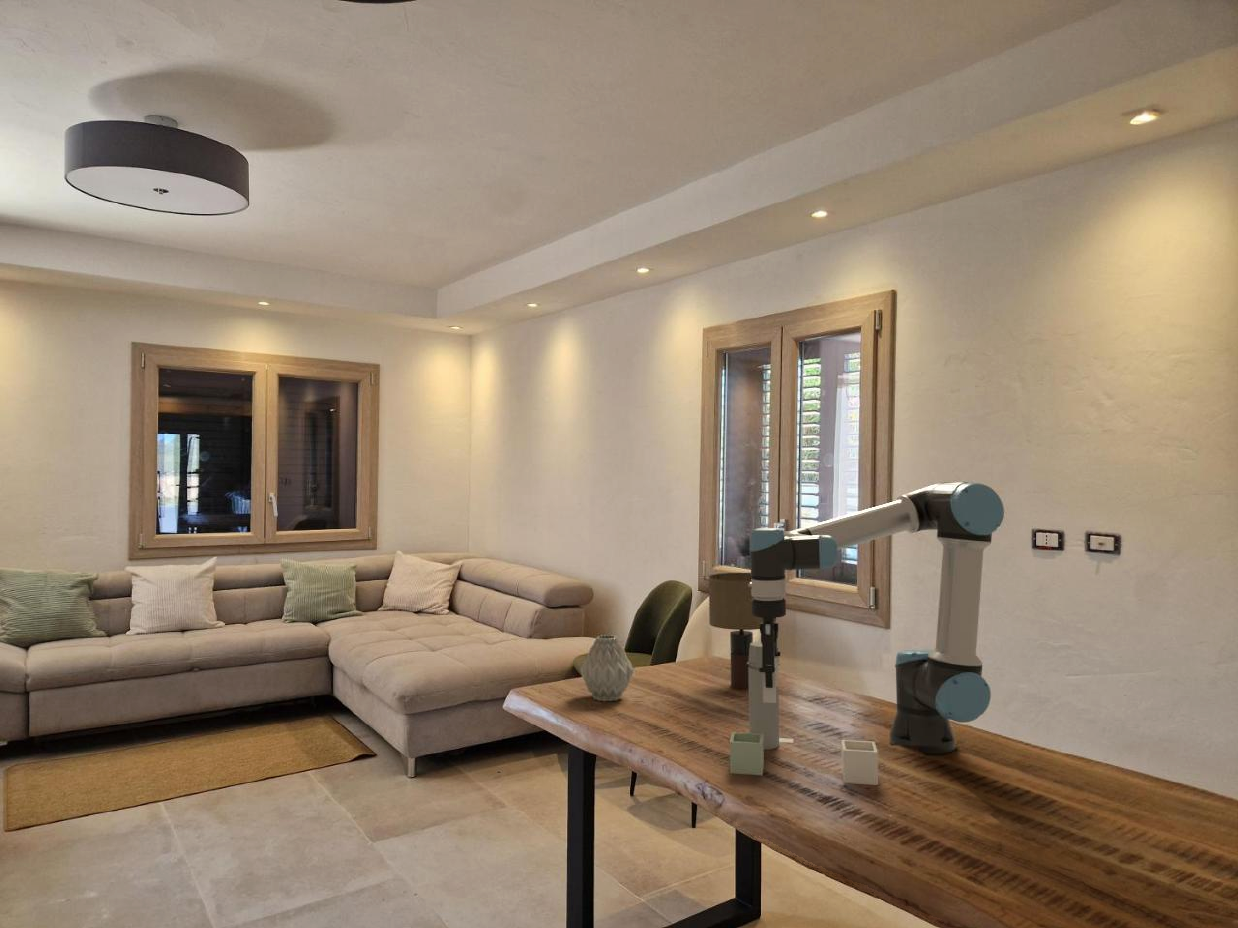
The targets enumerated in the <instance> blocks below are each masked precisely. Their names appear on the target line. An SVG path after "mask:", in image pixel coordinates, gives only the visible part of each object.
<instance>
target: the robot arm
mask: <svg viewBox="0 0 1238 928" xmlns="http://www.w3.org/2000/svg"><path fill="white" fill-rule="evenodd" d="M896 498H897V499H896V500H895V501H892V502H888V503H885V504H882V505H878V506H875V507H871V508H867V509H864V510H861V511H856V512H854V513H850V514H846V515H843V516H838V517H835V518H832V519H829V520H826V521H822V522H818V523H815V524H811V525H808V526H805V527H802V528H801V527H799V528H798V529H797V528H796V529H794V530H783V529H782V528H780V527H776V528H775V527H762V528H761V527H760V528H759V527H758V528H754V529H752V530H751V531H750V534H749V560H750V562H749V563H750V573H751V582H752V583H749V584H748V586H749V587H752V589H751V595H752V596H753V597H754V598H753V599H752V600H751V604H752V615H753V616H756V617H762V618H763V623H760V629H759V633H760V642H761V643H762V668H759V672H762V674H763V702H767V703H776V686H778V687H779V665H778V658H779V657H781V651H779V649H778V637H779V622H777V618H783V617H785V616H786V614H787V603H786V602H787V601H786V599H785V597H786V591H787V590H786V589H787V588H786V574H785V573H786V571H792V570H793V571H795V570H796V571H799V570H801V571H802V570H823V569H831V568H834V567H835V565H836V564H837V562H838V558H839V557H838V556H839V550H843V549H847V548H850V547H853V546H856V545H861V544H865V543H868V542H871V541H874V540H877V539H882V538H886V537H888V536H892V535H895V534H899V533H902V532H906V531H907V532H909V533H910V534H913V533H917V532H921V531H926V530H927V531H930V530H931V531H932V530H934V531H937V532H936V539H937V540H938V541H939V542H940V544H942V556H941V557H942V558H941V559H942V560H941V571H940V572H941V573H940V583H939V584H940V588H939V599H938V600H939V601H938V611H937V613H938V614H937V622H936V623H937V625H936V626H937V627H936V640H935V648H934V649H906V650H900V651H898V653H896V657H895V665H894V666H895V678H896V679H895V684H896V686H895V687H896V688H895V689H896V690H895V691H896V712H895V715H894V718H893V721H892V725H891V727H890V730H889V743H890V744H891V745H892V746H895V747H896V746H902V747H905V748H910V749H915V750H918V751H919V752H920V753H921V754H924V755H941V754H942V755H943V754H949V753H951V752H953V751H955V750H956V737H955V734H954V731H953V729H952V728H953V727H952V725H951V722H950V720H951V721H954V722H957V723H962V724H963V723H970V722H973V721H976V720H977V719H979V717H980V716H982V715H983V714H985V712H986V711H987V709H988V708H989V706H990V702H991V698H992V697H991V696H992V694H991V693H992V692H991V687H990V686H989V684H988V683H987V681H986V679H985V678H984V677H982V673H983V661H982V660H981V659H980V658H979V657H978V655H977V645H978V644H977V643H978V642H977V641H978V627H979V618H980V617H979V615H980V602H981V601H980V600H981V591H982V590H981V585H982V575H983V563H984V562H983V560H984V550H985V549H986V548H987V547H988V546H989V545H991V544H992V540H993V539H992V535H993V533H994V532H996V531H997V529H998V527H1000V526H1001V525H1002V522H1003V520H1004V517H1005V509H1004V504H1003V501H1002V499H1001V497H1000V496H999V494H998V493H997V492H996V491H995V490H994V489H993V488H992V487H990V486H988V485H987V484H983V483H978V482H974V481H970V482H969V481H964V482H962V481H961V482H945V481H944V482H938V483H935V484H931V485H928V486H925V487H923V488H919V489H917V490H914V491H911V492H907V493H905V494H901V495H899V496H898V497H896ZM777 650H778V652H777ZM775 656H778V657H775Z"/></svg>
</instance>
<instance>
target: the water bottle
mask: <svg viewBox="0 0 1238 928" xmlns="http://www.w3.org/2000/svg"><path fill="white" fill-rule="evenodd" d="M777 652H779V649H778V650H777ZM775 657H778V666H781V665H780V660H779V656H775ZM747 664H749V665H750V666H749V667H748V671H749V689H748V723H749V724H748V731H749V732H748V733H756V734H763V738H764V750H765V751H767V750H775V749H777V748H778V747H779V746H780V742H779V738H780V714H779V713H780V711H779V709H780V707H779V706H780V705H779V703H780V702H779V699H780V698H779V685H778V686H776V703H767V702H763V674H762V672H759V668H762V643H761V641H755V642H754V641H753V642H752V643H750V649H749V662H747Z"/></svg>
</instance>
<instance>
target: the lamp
mask: <svg viewBox="0 0 1238 928" xmlns="http://www.w3.org/2000/svg"><path fill="white" fill-rule="evenodd" d="M749 583H752V582H751V572H721V573H712V574H709V575H708V588H709V589H708V606H709V607H708V609H709V611H708V612H709V613H708V614H709V618H708V619H709V625H710V626H712V627H713V628H717V629H718V628H719V629H725V630H733V631H730V635H729V637H730V639H729V641H730V687H731V688H732V689H734V690H735V689H736V690H749V671H748V667H749V666H750V665H749V664H747V662H749V649H750V643H752V642H754V638H753V637H754V634H753V633H754V632H751V631H752V630H760V623H763V618H762V617H756V616H753V615H752V604H751V600H752V599H753V598H754V597H753V596H752V595H751V589H752V587H749V586H748V584H749ZM749 630H751V631H749Z"/></svg>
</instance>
